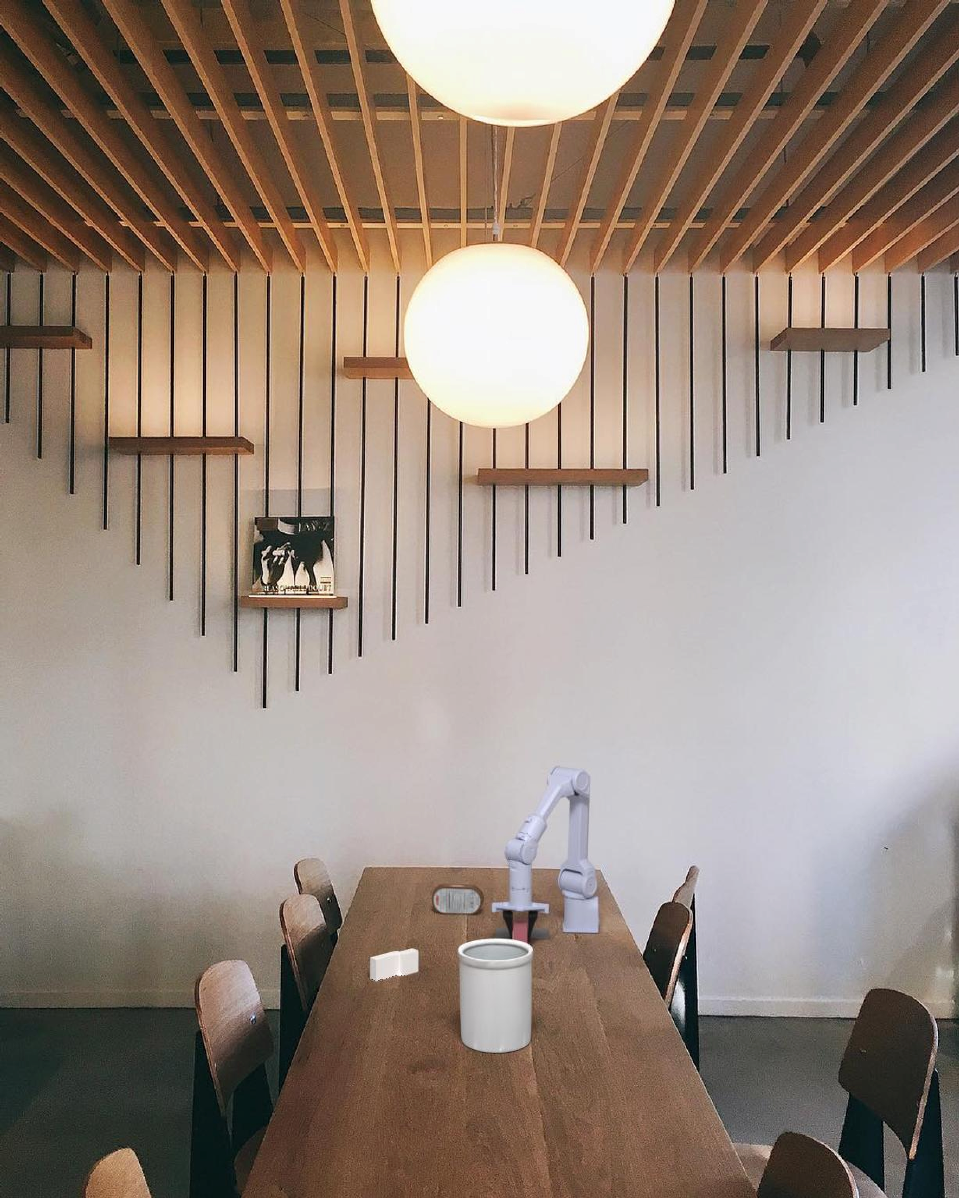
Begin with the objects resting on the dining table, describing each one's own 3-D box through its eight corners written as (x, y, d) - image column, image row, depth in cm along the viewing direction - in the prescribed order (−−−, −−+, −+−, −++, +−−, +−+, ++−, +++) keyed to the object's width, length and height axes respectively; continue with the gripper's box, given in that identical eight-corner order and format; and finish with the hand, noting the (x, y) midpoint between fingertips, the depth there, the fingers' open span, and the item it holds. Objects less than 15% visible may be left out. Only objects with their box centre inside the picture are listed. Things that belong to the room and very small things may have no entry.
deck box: (528, 941, 253) (528, 918, 253) (527, 952, 244) (527, 928, 244) (513, 941, 253) (513, 918, 254) (512, 952, 244) (512, 928, 245)
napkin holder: (363, 986, 221) (363, 961, 221) (366, 969, 233) (366, 945, 233) (429, 985, 222) (429, 959, 222) (428, 968, 233) (429, 944, 234)
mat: (548, 930, 263) (548, 928, 263) (547, 939, 255) (547, 937, 255) (496, 928, 264) (496, 927, 264) (494, 937, 256) (494, 936, 256)
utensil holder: (446, 1030, 195) (446, 942, 196) (513, 1019, 201) (513, 933, 202) (475, 1060, 181) (475, 964, 182) (546, 1047, 187) (546, 954, 188)
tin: (484, 913, 280) (484, 883, 280) (483, 916, 277) (483, 886, 277) (432, 911, 281) (432, 882, 282) (430, 914, 278) (430, 884, 279)
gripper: (491, 890, 246) (491, 944, 245) (548, 891, 245) (548, 946, 244) (492, 883, 253) (492, 936, 252) (548, 884, 252) (548, 937, 251)
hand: (520, 940), depth 249 cm, fingers closed on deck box, 4 cm apart
